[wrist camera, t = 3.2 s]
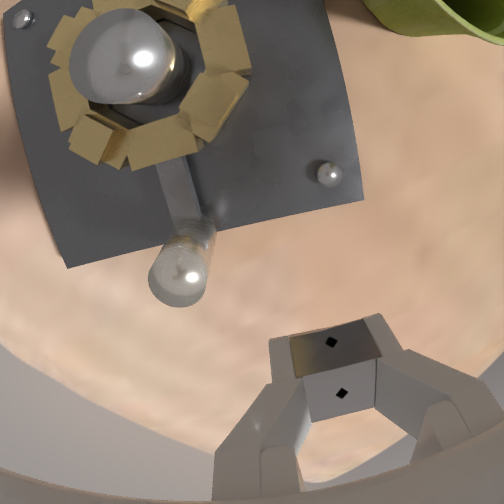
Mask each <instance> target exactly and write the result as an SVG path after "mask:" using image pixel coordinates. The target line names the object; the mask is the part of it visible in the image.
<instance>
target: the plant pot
mask: <svg viewBox="0 0 504 504" xmlns="http://www.w3.org/2000/svg"><path fill="white" fill-rule="evenodd" d="M363 2H364V4H365V6H366V7H367V8H368V9H369V10H370V11H371V12H372V13H373V14H374V15H375V16H376V17H377V19H378V20H379V21H380V22H381V23H382V24H383V25H384V26H386V27H387V28H389V29H390V30H392V31H394V32H396V33H399V34H402V35H405V36H410V37H421V36H434V35H453V34H467V35H471V36H474V37H478V38H480V39H482V40H485V41H487V42H490V43H492V44H496V45H501V46H504V0H363Z"/></svg>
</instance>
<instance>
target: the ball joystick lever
mask: <svg viewBox="0 0 504 504" xmlns="http://www.w3.org/2000/svg"><path fill="white" fill-rule="evenodd" d="M92 3H93V9H94V10H91V9H88V8H85V7H81V8H80V10H79V11H78V13H77V15H76V16H75V18H72V17H69V16H66V15H64V16H63V17H62V19H61V21H60V22H59V24H58V26H57V28H56V29H55V31H54V33H53V35H52V37H51V39H50V41H49V42H48V44H47V46H46V47H48V48H51V49H53V50H56V52H55V54H54V56H53V58H52V60H51V62H50V63H52V64H54V65H57V66H59V67H61V68H60V69H58V70H56V71H54V72H52V73H51V74H49V75H48V76H49V81H50V86H51V91H52V96H53V101H54V105H55V110H56V114H57V118H58V122H59V126H60V130H61V132H65V131H70V130H72V133H71V135H70V137H69V140H68V142H70V143H71V144H70V147H69V150H71V151H73V152H75V153H76V154H78V155H80V156H82V157H83V158H85V159H87V160H89V161H91V162H92V163H94V164H96V165H99V164H102V163H104V162H106V163H107V164H109V165H111V166H113V167H115V168H116V169H118V170H121V169H123V168H125V167H127V166H129V165H130V166H131V170H132V171H135V170H138V169H141V168H144V167H147V166H150V165H154V164H155V165H156V169H157V172H158V175H159V179H160V182H161V185H162V189H163V192H164V195H165V198H166V202H167V205H168V208H169V211H170V214H171V218H172V221H173V224H174V228H173V230H172V232H171V234H170V235H169V237H168V239H167V240H166V242H165V244H164V246H163V247H162V249H161V251H160V253H159V254H158V256H157V258H156V260H155V261H154V263H153V265H152V267H151V269H150V271H149V275H148V283H149V287H150V289H151V291H152V293H153V294H154V295H155V297H156V298H157V299H158V300H160V301H161V302H163V303H164V304H167V305H169V306H172V307H188V306H191V305H193V304H195V303H196V302H198V301H199V300H200V299H201V297H202V296H203V294H204V291H205V287H206V282H207V277H208V273H209V268H210V263H211V259H212V254H213V250H214V245H215V241H216V234H217V233H216V228H215V225H214V223H213V222H212V221H211V220H210V219H209V218H208V217H207V216H205V215H203V214H202V213H201V209H200V206H199V202H198V199H197V195H196V192H195V188H194V185H193V181H192V178H191V174H190V171H189V167H188V163H187V160H186V156H185V155H188V154H191V153H195V152H198V151H200V150H201V149H202V148H203V147H205V146H204V142H203V139H204V140H206V141H207V142H209V143H210V142H212V141H213V140H214V139H215V138H216V136H217V135H218V133H219V131H220V130H221V128H222V127H223V125H224V123H225V122H226V120H227V119H228V117H229V115H230V114H231V112H232V111H233V109H234V108H235V106H236V105H237V103H238V101H239V100H240V98H241V97H242V95H243V94H244V92H245V91H246V89H247V88H248V86H249V81H248V80H246V79H244V78H243V77H241V76H245V75H249V74H251V69H252V66H251V63H250V59H249V55H248V51H247V47H246V43H245V39H244V36H243V32H242V28H241V24H240V21H239V17H238V13H237V10H236V6H235V4H234V5H230V6H228V2H227V0H92ZM122 8H130V9H136V10H139V11H142V12H144V13H146V14H147V15H149V16H150V17H151V18H152V19H153V20H154V21H156V20H159V19H162V18H165V19H167V20H170V21H172V22H174V23H177V24H179V25H181V26H184V27H186V28H188V29H190V30H192V31H194V32H197V35H198V39H199V43H200V47H201V51H202V55H203V59H204V63H205V67H206V69H205V71H204V72H203V73H201V72H200V74H199V75H198V77H197V78H196V80H195V81H194V83H193V85H192V86H191V88H190V89H189V91H188V93H187V94H186V96H185V98H184V99H183V101H182V102H181V104H180V106H179V109H180V111H179V113H178V114H176V115H173V116H170V117H166V118H163V119H160V120H157V121H154V122H151V123H148V124H145V125H142V126H141V125H139V124H137V123H135V122H133V121H132V120H130V119H128V118H126V117H124V116H122V115H120V114H118V113H116V112H114V111H112V110H110V109H109V106H108V104H103V103H96V102H93V101H90V100H88V99H86V98H85V97H83V96H82V95H81V94H80V93H79V92H78V91H77V90H76V88H75V87H74V85H73V83H72V80H71V77H70V72H69V59H70V54H71V50H72V47H73V45H74V43H75V41H76V39H77V37H78V36H79V34H80V33H81V31H82V30H83V29H84V28H85V27H86V26H87V25H88V24H89V23H90V22H91V21H92V20H94V19H95V18H97V17H98V16H100V15H102V14H104V13H106V12H109V11H111V10H115V9H122Z"/></svg>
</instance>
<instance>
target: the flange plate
mask: <svg viewBox="0 0 504 504" xmlns="http://www.w3.org/2000/svg"><path fill="white" fill-rule="evenodd" d="M227 2H228V6H230V5H234V4H235V6H236V10H237V13H238V17H239V21H240V24H241V28H242V32H243V36H244V39H245V43H246V47H247V51H248V55H249V59H250V63H251V66H252V69H251V74H249V75H245V76H241V77H243V78H244V79H246V80H248V81H249V86H248V88H247V89H246V91H245V92H244V94H243V95H242V97H241V98H240V100H239V101H238V103H237V105H236V106H235V108H234V109H233V111H232V112H231V114H230V115H229V117H228V119H227V120H226V122H225V123H224V125H223V127H222V128H221V130H220V131H219V133H218V135H217V136H216V138H215V139H214V140H213V141H212V142H210V143H209V142H207V141H206V140H204V139H203V142H204V146H205V147H203V148H202V149H201V150H200V151H198V152H195V153H191V154H188V155H185V156H186V160H187V163H188V167H189V171H190V174H191V178H192V181H193V185H194V188H195V192H196V195H197V199H198V202H199V206H200V209H201V213H202V214H203V215H205V216H207V217H208V218H209V219H210V220H211V221H212V222H213V223H214V225H215V228H216V232H218V231H222V230H226V229H231V228H235V227H240V226H244V225H248V224H253V223H257V222H262V221H266V220H271V219H276V218H280V217H285V216H289V215H294V214H299V213H303V212H308V211H313V210H318V209H322V208H327V207H332V206H337V205H342V204H347V203H351V202H356V201H361V200H364V194H363V186H362V178H361V171H360V164H359V157H358V151H357V144H356V138H355V133H354V127H353V121H352V116H351V111H350V106H349V101H348V96H347V91H346V87H345V82H344V78H343V73H342V69H341V65H340V61H339V57H338V53H337V49H336V45H335V41H334V37H333V34H332V30H331V26H330V23H329V19H328V16H327V13H326V9H325V6H324V3H323V0H227ZM81 7H85V8H88V9H91V10H94V9H93V3H92V0H21V1H20V2H18V3H17V4H16V5H14V6H13V7H11V8H10V9H9V10H7V11H6V12H5V13H3V18H4V34H5V46H6V55H7V63H8V71H9V77H10V84H11V90H12V95H13V101H14V106H15V111H16V116H17V120H18V125H19V129H20V133H21V137H22V141H23V145H24V149H25V153H26V156H27V160H28V163H29V167H30V170H31V174H32V177H33V180H34V183H35V186H36V189H37V192H38V195H39V198H40V201H41V204H42V207H43V210H44V212H45V215H46V218H47V221H48V223H49V226H50V228H51V231H52V234H53V236H54V239H55V241H56V244H57V246H58V248H59V251H60V253H61V255H62V258H63V260H64V262H65V265H66V267H67V269H68V268H72V267H76V266H80V265H84V264H87V263H91V262H95V261H99V260H103V259H107V258H111V257H115V256H118V255H122V254H126V253H130V252H134V251H138V250H142V249H147V248H151V247H155V246H159V245H163V244H165V242H166V240H167V239H168V237H169V235H170V234H171V232H172V230H173V228H174V224H173V221H172V218H171V214H170V211H169V208H168V205H167V202H166V198H165V195H164V192H163V189H162V185H161V182H160V179H159V175H158V172H157V169H156V165H155V164H154V165H150V166H147V167H144V168H141V169H138V170H135V171H132V170H131V166H130V165H129V166H127V167H125V168H123V169H121V170H118V169H116V168H115V167H113V166H111V165H109V164H107V163H106V162H104V163H102V164H99V165H96V164H94V163H92V162H91V161H89V160H87V159H85V158H83V157H82V156H80V155H78V154H76V153H75V152H73V151H71V150H69V147H70V144H71V143H70V142H68V140H69V137H70V135H71V133H72V130H70V131H65V132H61V130H60V126H59V122H58V118H57V114H56V110H55V105H54V101H53V96H52V91H51V86H50V81H49V76H48V75H49V74H51V73H52V72H54V71H56V70H58V69H60V68H61V67H59V66H57V65H54V64H52V63H50V62H51V60H52V58H53V56H54V54H55V52H56V50H53V49H51V48H48V47H46V46H47V44H48V42H49V41H50V39H51V37H52V35H53V33H54V31H55V29H56V28H57V26H58V24H59V22H60V21H61V19H62V17H63V16H64V15H66V16H69V17H72V18H75V16H76V15H77V13H78V11H79V10H80V8H81ZM205 69H206V67H205V63H204V59H203V55H202V51H201V47H200V43H199V39H198V35H197V32H194V31H192V30H190V29H188V28H186V27H184V26H181V25H179V24H177V23H174V22H172V21H170V20H167V19H165V18H162V19H159V20H156V21H154V20H153V19H152V18H151V17H150V16H149V15H147V14H146V13H144V12H142V11H139V10H136V9H130V8H122V9H115V10H111V11H109V12H106V13H104V14H102V15H100V16H98V17H97V18H95V19H94V20H92V21H91V22H90V23H89V24H88V25H87V26H86V27H85V28H84V29H83V30H82V31H81V33H80V34H79V36H78V37H77V39H76V41H75V43H74V45H73V47H72V50H71V54H70V59H69V72H70V77H71V80H72V83H73V85H74V87H75V88H76V90H77V91H78V92H79V93H80V94H81V95H82V96H83V97H85V98H86V99H88V100H90V101H93V102H96V103H103V104H108V106H109V109H110V110H112V111H114V112H116V113H118V114H120V115H122V116H124V117H126V118H128V119H130V120H132V121H133V122H135V123H137V124H139V125H141V126H142V125H145V124H148V123H151V122H154V121H157V120H160V119H163V118H166V117H170V116H173V115H176V114H178V113H179V111H180V109H179V106H180V104H181V102H182V101H183V99H184V98H185V96H186V94H187V93H188V91H189V89H190V88H191V86H192V85H193V83H194V81H195V80H196V78H197V77H198V75H199V74H200V72H201V73H203V72H204V71H205Z"/></svg>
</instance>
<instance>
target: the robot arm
mask: <svg viewBox="0 0 504 504" xmlns="http://www.w3.org/2000/svg"><path fill="white" fill-rule="evenodd" d="M289 340H290V341H289ZM269 353H270V364H271V375H272V383H271V384H266V386H265V387H264V388H263V390H262V391H261V393H260V394H259V395H258V397H257V398H256V399H255V401H254V402H253V404H252V405H251V406H250V408H249V409H248V410H247V412H246V413H245V414H244V416H243V417H242V418H241V420H240V421H239V422H238V423H237V425H236V426H235V427H234V429H233V430H232V431H231V432H230V434H229V435H228V436H227V438H226V439H225V440H224V441H223V443H222V444H221V445H220V446H219V448H218V449H217V450H216V451H215V459H214V472H213V473H214V474H213V487H212V501H168V500H152V499H140V498H130V497H121V496H113V495H107V494H101V493H95V492H89V491H83V490H79V489H74V488H69V487H64V486H60V485H56V484H52V483H49V482H45V481H41V480H37V479H34V478H31V477H27V476H24V475H21V474H18V473H15V472H12V471H9V470H6V469H3V468H0V504H504V411H503V409H502V408H501V406H500V405H499V403H498V402H497V400H496V399H495V398H494V396H493V394H492V393H491V391H490V390H489V389H488V387H487V386H486V384H485V383H484V381H482V380H479V379H477V378H475V377H472V376H470V375H467V374H465V373H463V372H460V371H458V370H456V369H453V368H451V367H449V366H446V365H444V364H442V363H440V362H437V361H435V360H433V359H430V358H428V357H426V356H423V355H421V354H419V353H417V352H414V351H412V350H410V349H407V350H403V349H402V347H401V345H400V344H399V342H398V340H397V339H396V337H395V335H394V334H393V332H392V330H391V329H390V327H389V326H388V324H387V322H386V321H385V319H384V317H383V316H382V314H380V313H377V314H374V315H371V316H367V317H364V318H362V319H359V320H355V321H351V322H347V323H343V324H339V325H335V326H331V327H327V328H322V329H317V330H312V331H307V332H302V333H297V334H292V335H289V337H288V336H283V337H277V338H272V339H269ZM373 407H375V409H376V410H377V411H379V412H380V413H381V414H383V415H384V416H385V417H387V418H388V419H389V420H391V421H392V422H394V423H395V424H396V425H398V426H399V427H400V428H402V429H403V430H404V431H406V432H407V433H409V434H410V435H412V436H413V437H414V438H416V439H417V443H416V446H415V449H414V452H413V455H412V458H411V461H410V464H408V465H405V466H402V467H399V468H397V469H394V470H390V471H387V472H384V473H381V474H378V475H375V476H371V477H367V478H364V479H360V480H357V481H353V482H349V483H345V484H340V485H336V486H332V487H327V488H322V489H317V490H312V491H306V489H305V485H304V481H303V478H302V474H301V471H300V468H299V464H298V461H297V457H296V456H297V454H298V452H299V450H300V448H301V446H302V444H303V442H304V440H305V438H306V436H307V434H308V432H309V429H310V427H311V425H312V424H311V423H314V422H318V421H322V420H326V419H330V418H334V417H337V416H341V415H345V414H349V413H354V412H358V411H362V410H366V409H369V408H373Z"/></svg>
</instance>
